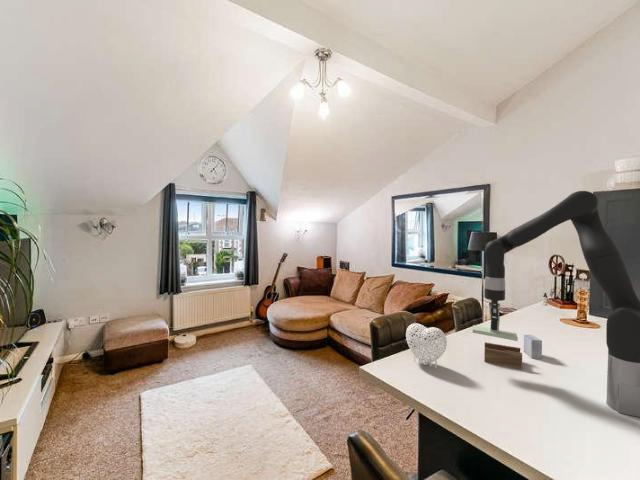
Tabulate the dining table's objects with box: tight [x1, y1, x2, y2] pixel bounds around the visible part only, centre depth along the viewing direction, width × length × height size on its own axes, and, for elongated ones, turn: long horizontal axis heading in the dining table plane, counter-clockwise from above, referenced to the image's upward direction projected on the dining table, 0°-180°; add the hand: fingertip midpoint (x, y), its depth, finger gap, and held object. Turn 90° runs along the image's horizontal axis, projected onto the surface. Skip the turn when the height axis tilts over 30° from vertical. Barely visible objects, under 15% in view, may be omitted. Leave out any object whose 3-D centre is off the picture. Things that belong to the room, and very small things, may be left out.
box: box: [483, 341, 523, 370], centre depth 135 cm, size 9×14×6 cm, turn 61°
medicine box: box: [523, 334, 543, 360], centre depth 142 cm, size 8×4×9 cm, turn 168°
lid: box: [472, 316, 519, 342], centre depth 126 cm, size 6×16×7 cm, turn 61°
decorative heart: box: [405, 322, 448, 369], centre depth 131 cm, size 18×11×17 cm, turn 45°
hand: (493, 328), depth 126 cm, fingers closed on lid, 2 cm apart
